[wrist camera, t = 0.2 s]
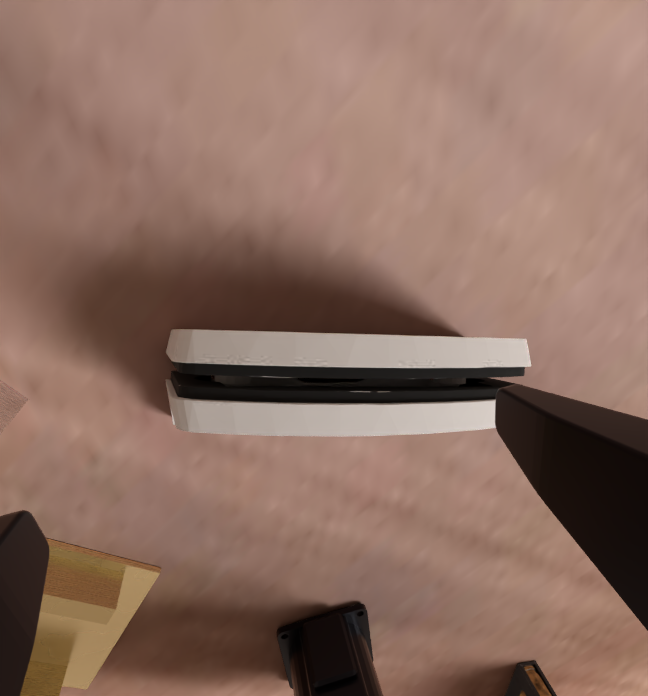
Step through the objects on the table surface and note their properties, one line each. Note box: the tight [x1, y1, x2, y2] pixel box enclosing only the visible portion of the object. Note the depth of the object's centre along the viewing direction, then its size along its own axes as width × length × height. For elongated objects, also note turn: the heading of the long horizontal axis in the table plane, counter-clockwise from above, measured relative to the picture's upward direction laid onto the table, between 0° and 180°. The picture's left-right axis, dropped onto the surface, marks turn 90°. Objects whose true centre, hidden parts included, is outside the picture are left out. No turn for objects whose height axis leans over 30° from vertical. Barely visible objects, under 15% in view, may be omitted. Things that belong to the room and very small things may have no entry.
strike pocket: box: [20, 538, 161, 696], centre depth 25 cm, size 12×11×3 cm
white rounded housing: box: [165, 329, 531, 436], centre depth 21 cm, size 17×5×10 cm, turn 84°
